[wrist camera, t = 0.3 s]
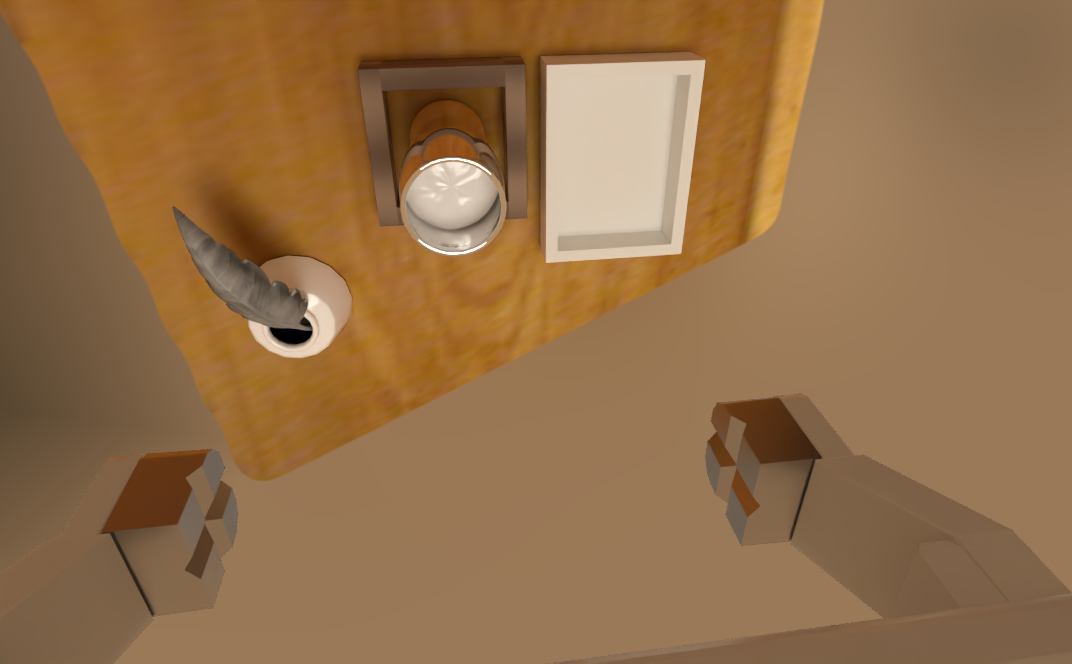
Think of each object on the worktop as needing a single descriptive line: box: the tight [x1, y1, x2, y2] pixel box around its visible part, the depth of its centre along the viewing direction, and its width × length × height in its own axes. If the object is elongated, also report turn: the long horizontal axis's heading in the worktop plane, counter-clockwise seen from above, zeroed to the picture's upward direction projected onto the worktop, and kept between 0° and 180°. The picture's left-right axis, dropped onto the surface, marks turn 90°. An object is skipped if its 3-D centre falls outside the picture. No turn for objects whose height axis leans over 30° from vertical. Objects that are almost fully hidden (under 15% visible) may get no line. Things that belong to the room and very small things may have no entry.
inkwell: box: [173, 207, 352, 358], centre depth 53 cm, size 9×18×10 cm, turn 24°
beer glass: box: [399, 100, 506, 256], centre depth 47 cm, size 7×7×15 cm
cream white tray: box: [540, 52, 706, 263], centre depth 55 cm, size 16×12×4 cm
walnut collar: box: [358, 57, 527, 226], centre depth 52 cm, size 12×12×3 cm
